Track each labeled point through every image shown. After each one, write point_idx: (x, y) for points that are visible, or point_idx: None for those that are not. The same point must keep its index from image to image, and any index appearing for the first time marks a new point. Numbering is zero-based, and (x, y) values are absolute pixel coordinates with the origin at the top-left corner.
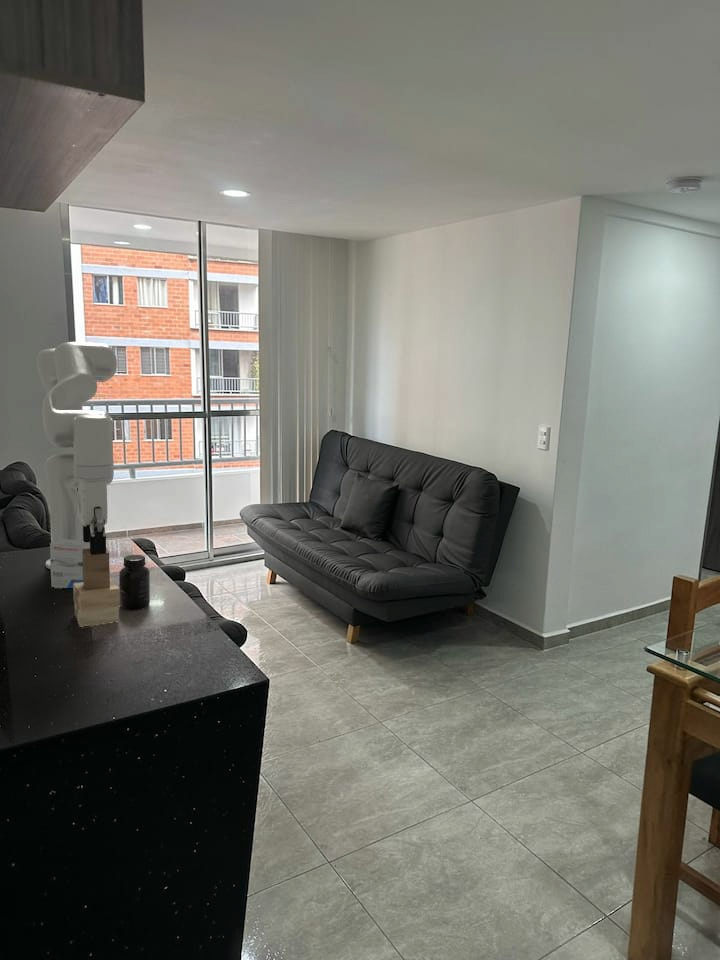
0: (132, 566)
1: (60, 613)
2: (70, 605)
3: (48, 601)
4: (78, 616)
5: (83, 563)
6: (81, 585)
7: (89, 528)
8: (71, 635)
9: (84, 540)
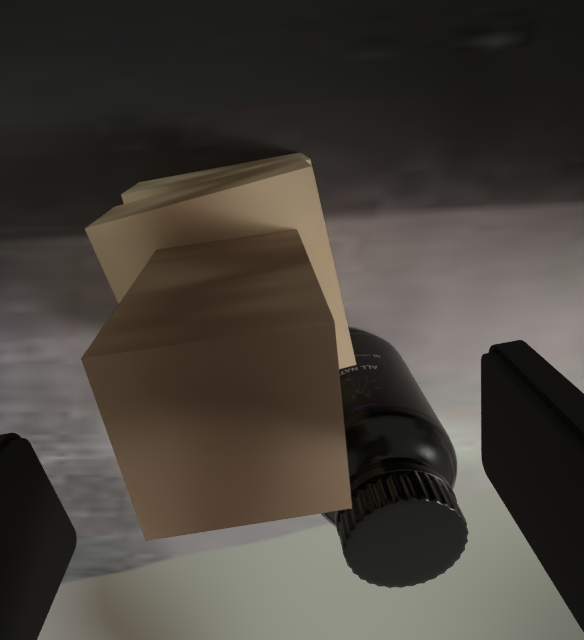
0: (338, 510)
1: (342, 81)
2: (438, 123)
3: (538, 3)
4: (164, 181)
5: (245, 285)
6: (259, 220)
7: (577, 526)
8: (49, 151)
9: (492, 361)
